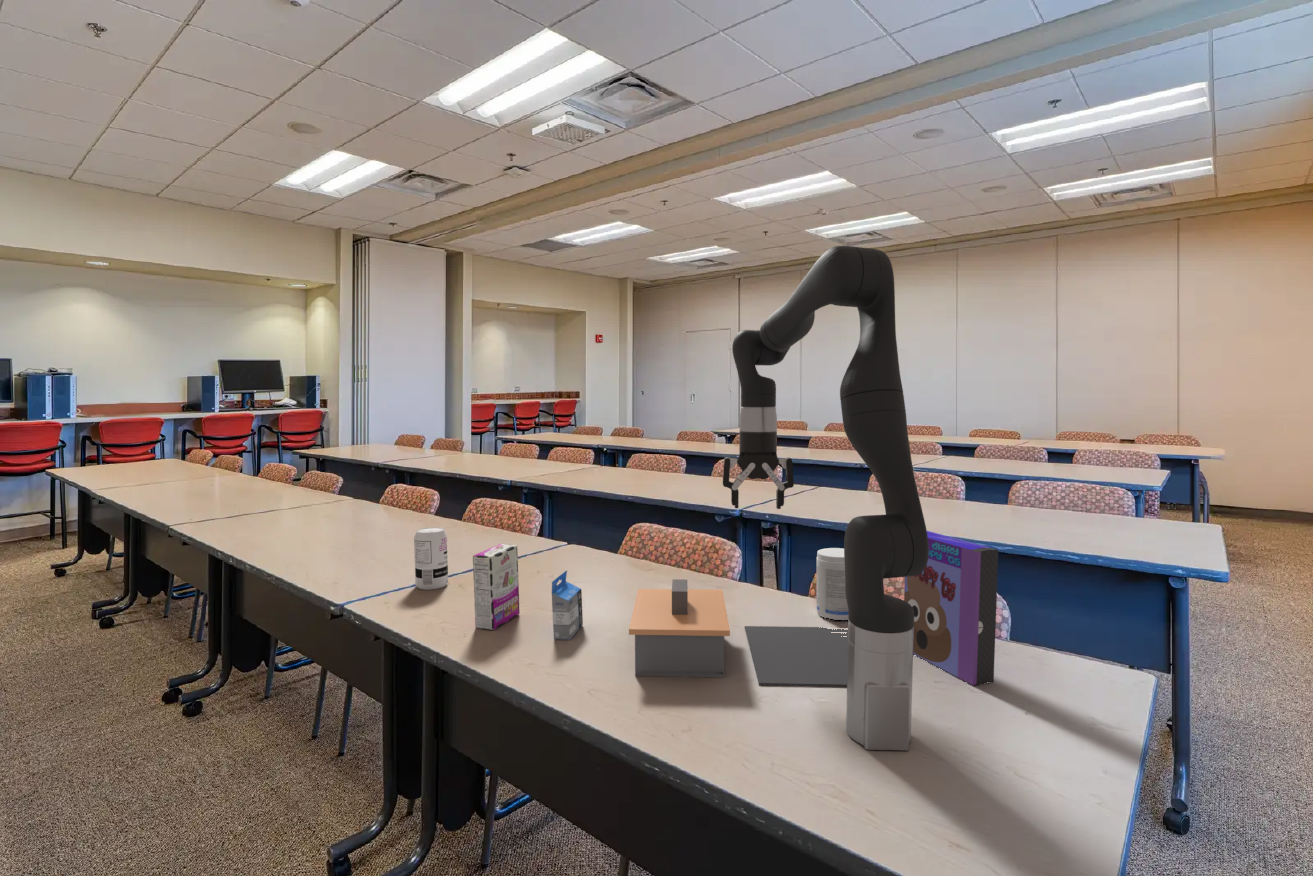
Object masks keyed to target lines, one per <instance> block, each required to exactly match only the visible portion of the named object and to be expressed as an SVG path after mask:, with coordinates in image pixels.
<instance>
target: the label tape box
mask: <svg viewBox="0 0 1313 876" xmlns="http://www.w3.org/2000/svg"><path fill="white" fill-rule="evenodd" d="M567 573H568V570H565V571H564V572H562V573H560V575H558V576H557V577H556V578H555V579H554V580H552V581H551V607H552V608H551V609H552V610H551V612H552V628H553V639H554V640H562V641H563V640H567V641H570V640H572V639H573V637H574V636H575V635H576V634H577V632H578V631H579V630H580V629H581V628H582V627H583V625H584V624H583V623H584V620H583V619H584V618H583V593H582V588H580V587H578V586H576V585H575V584H573V583H570V582H568V581H567V576H568V575H567Z"/></svg>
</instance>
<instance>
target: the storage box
mask: <svg viewBox="0 0 1313 876" xmlns="http://www.w3.org/2000/svg"><path fill="white" fill-rule="evenodd" d="M724 640H725V636H689V635H634V675H635V676H634V677H639V676H640V677H641V676H642V677H679V678H680V677H683V678H685V677H687V678H688V677H689V678H690V677H692V678H693V677H694V678H699V677H700V678H724V676H725V674H724V673H725V672H724V671H725V669H724V668H725V656H724V655H725V641H724Z"/></svg>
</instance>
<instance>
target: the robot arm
mask: <svg viewBox="0 0 1313 876" xmlns="http://www.w3.org/2000/svg"><path fill="white" fill-rule="evenodd" d="M895 292H896V291H895V275H894V269H893V265H892V262H891V260H890V257H889V256H888V254H886V252H884V251H883V250H880V249H876V248H870V247H869V248H868V247H859V246H852V245H835V246H832V247H830V248H829V249H827V250H826V251H824V253H823V254H821V255H820V257H819V258H818V259H817V260H816V261H815V263H813V266H812V267H811V268H810V269H809V271H807V273H806V275H805V276H804V277H803V279H802V280H801V281H800V283H799V284H798V285H797V287H796V288H795V290H794V291H793V292H792V294H790V297H789V298H788V299H787V300H786V301H785V302H784V303H783V304H782V305H781V306H780V307H779V308H777V309H776V310H775V311H774V312H773V313H771V314H770V315H769V316H768V317H767V318H765V320H763V322H762V324H761V325H760V328H759V330H758V329H757V330H756V329H744V330H740V331H739V332H737V334H736V335H735V337H734V339H733V341H732V346H731V347H732V348H731V349H732V350H731V353H732V355H733V360H734V364H735V368H736V371H737V375H738V376H737V377H738V380H739V384H740V412H739V424H738V427H739V446H738V447H739V449H738V450H739V452H738V453H739V454H738V457H737V458H733V457H728V456H726V457H724V458H723V472H722V486H723V487H724V488H728V489H730V491H731V492H730V493H731V496H730V497H731V498H730V499H731V501H730V502H731V505H732V506H734V509H739V494H740V492H739V489H738V488H739V487H740V486H741V485H742V484H743V483H744V481H745V480H746V479H750V480H757V479H760V480H766V479H768V478H769V479H771V480H772V482H773V483H774V484H775V486H776V487H777V489H776V492H775V493H776V495H775V496H776V503H775V505H776V509H777V510H781V507H783V506H784V505H785V491H786V490H788V489H790V488H794V486H795V484H794V483H795V481H794V480H795V479H794V469H793V468H794V467H793V466H794V464H793V462H794V461H793V459H792V457H789V456H788V457H785V458H778V454H777V453H778V452H777V451H778V449H777V447H778V446H777V445H778V444H777V443H778V440H777V439H778V415H777V384H776V380H774V379H773V378H770V377H766V376H762V375H760V373H759V372H758V369H757V367H756V366H775V365H777V364H780V363H781V362H782V361H783V360H784V359H785V357H786V355H787V353H788V352H789V351H790V350H791V347H793V345H795V344H797V343H798V342H799V341H800V340H802V339H804V338H805V337H806V336H807V335H808V334H809V332H810V331H811V329H812V327H813V326H814V324H815V323H814V322H815V317H816V315H815V313H816V312H815V311H817V310H819V309H821V308H824V307H826V306H829V305H833V306H837V307H851V308H857V311H858V315H859V329H860V330H859V341H858V344H857V348H856V349H855V352H854V354H853V356H852V357H851V360H850V362H849V364H848V366H847V368H846V371H845V373H844V375H843V378H842V380H841V384H840V388H839V399H840V408H841V415H842V416H841V417H842V424H843V430H844V432H845V435H846V437H847V439H848V441H849V442H850V445H851V446H852V447H853V448H854V450H855V452H857V454H858V455H859V456H860V458H861V459H862V460H863V462H864V464H865V465H866V466H867V467H868V469H869V470H870V471H871V473H872V474H873V477H875V480H876V481H877V484H878V486H879V488H880V492H881V495H882V500H883V504H884V510H885V514H872V515H860V516H856V517H853V518H852V519H851V520H850V521H849V522H848V524H847V526H846V529H845V532H844V533H845V534H844V542H843V543H844V544H843V549H844V560H845V592H846V600H847V605H848V621H847V622H848V623H847V625H848V658H847V687H846V718H845V720H846V724H845V725H846V726H845V730H846V733H847V735H848V736H849V737H850V739H852V740H854V741H855V742H856V743H859V744H861V745H862V746H863V748H864V749H865V750H869V751H870V750H871V751H872V750H873V751H874V750H879V751H909V750H910V743H911V740H912V718H913V717H912V709H913V705H912V702H913V667H914V666H913V665H914V659H913V658H914V655H913V638H914V610H913V608H912V606H911V605H910V604H909V603H907V602H905V601H904V599H901V598H899V597H896V596H893V595H889V594H887V593H885V587H884V579H893V578H894V579H895V578H905V577H909V576H915V575H918V574H920V573H922V572H923V570H924V569H925V567H926V565H927V562H928V555H929V544H928V536H927V531H928V530H927V525H926V521H925V517H924V513H923V507H922V503H921V500H920V496H919V491H918V486H917V483H916V478H915V474H914V473H915V472H914V467H913V461H912V454H911V447H910V440H909V432H908V431H909V430H908V421H907V410H906V404H905V403H906V402H905V396H904V389H903V384H902V379H901V371H900V363H899V354H898V342H897V332H896V330H897V329H896V300H895V299H896V298H895V297H896V296H895V294H896V293H895ZM736 464H737V466H738V467H739V468H740V470H741V471H740V473H739V474H738V475H737V477H736V478H735V479H734V481H733V482H732V481H730V474H731V473H730V472H731V469H733V468H734V467H735V465H736ZM779 465H781V467H782V469H784V470H785V481H784V482H782V481H781V480H780V479H779V477H778V476H777V474H776V473H775V472H774V471H775V470H776V469H777V467H778V466H779Z"/></svg>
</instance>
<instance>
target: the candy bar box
mask: <svg viewBox="0 0 1313 876" xmlns="http://www.w3.org/2000/svg"><path fill="white" fill-rule="evenodd" d="M518 553H519V552H518V545H517V544H511V543H510V544H508V543H499V544H497V545H495V546H493V547H492V546H491V547H489V548H488V549H485V550H483V551H480V552H479V553H476V554H474V555H472V568H473V571H472V572H473V592H474V595H473V596H474V599H473V600H474V616H475V618H474V620H475V624H474V625H475V629H478V630H479V629H480V630H487V631H495V630H497V629H498V628H500V627H501V626H503V625H504V624H506V623H508V622H509V621H511V620H512V619H514V618H515V617H517V616H519V615H520V591H519V589H520V588H519V585H520V584H519V583H520V582H519V559H518Z"/></svg>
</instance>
